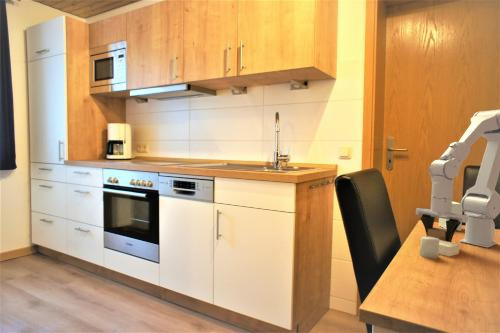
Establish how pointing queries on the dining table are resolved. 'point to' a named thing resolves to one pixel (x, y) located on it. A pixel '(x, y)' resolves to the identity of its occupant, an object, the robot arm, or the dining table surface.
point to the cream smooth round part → (429, 247)
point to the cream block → (448, 248)
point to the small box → (455, 209)
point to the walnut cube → (437, 233)
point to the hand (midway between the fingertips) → (438, 240)
